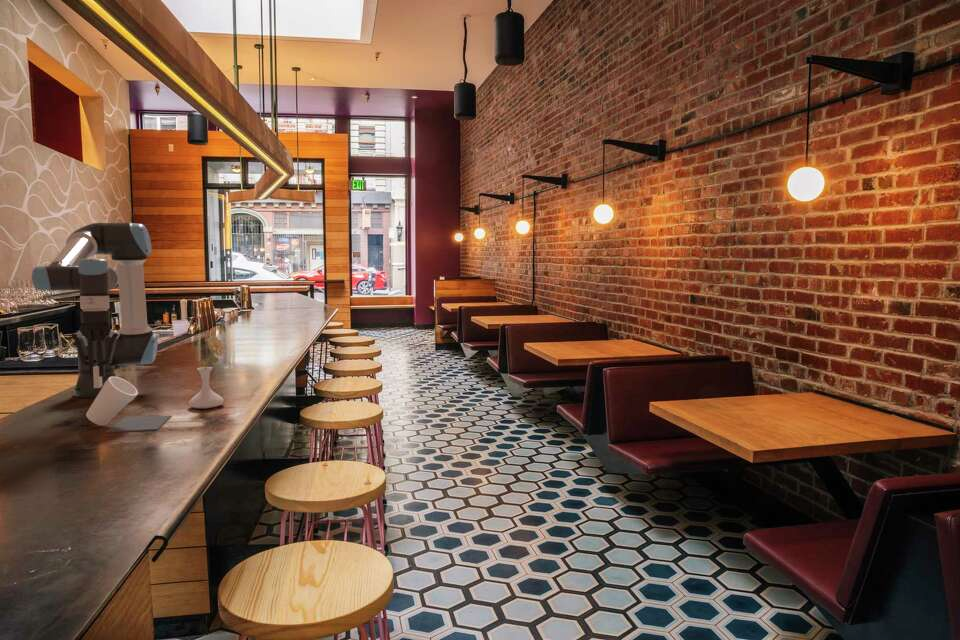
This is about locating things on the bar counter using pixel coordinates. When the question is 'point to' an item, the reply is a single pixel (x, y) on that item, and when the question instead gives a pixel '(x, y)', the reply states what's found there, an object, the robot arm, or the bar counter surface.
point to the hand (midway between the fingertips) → (98, 387)
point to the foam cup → (111, 400)
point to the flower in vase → (206, 395)
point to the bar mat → (139, 424)
